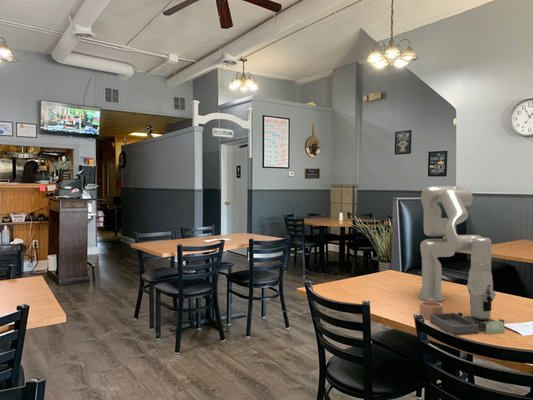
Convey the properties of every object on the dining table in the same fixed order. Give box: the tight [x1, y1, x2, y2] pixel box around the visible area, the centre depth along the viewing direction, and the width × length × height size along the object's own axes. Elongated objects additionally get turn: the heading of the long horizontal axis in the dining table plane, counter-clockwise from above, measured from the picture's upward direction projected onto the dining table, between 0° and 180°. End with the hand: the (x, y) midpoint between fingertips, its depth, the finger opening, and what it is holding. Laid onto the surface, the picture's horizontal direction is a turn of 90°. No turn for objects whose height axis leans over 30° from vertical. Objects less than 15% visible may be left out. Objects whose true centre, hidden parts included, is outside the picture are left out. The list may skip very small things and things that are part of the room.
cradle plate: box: [463, 314, 496, 328], centre depth 168 cm, size 9×9×2 cm
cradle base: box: [457, 312, 505, 335], centre depth 166 cm, size 15×12×4 cm
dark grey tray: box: [429, 312, 480, 336], centre depth 166 cm, size 16×12×4 cm
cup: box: [419, 300, 444, 321], centre depth 179 cm, size 9×9×6 cm
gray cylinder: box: [469, 290, 491, 320], centre depth 167 cm, size 8×8×12 cm
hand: (480, 307), depth 167 cm, fingers closed on gray cylinder, 7 cm apart
